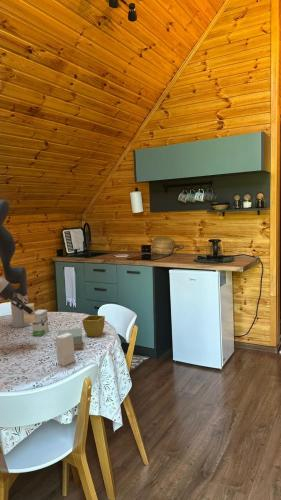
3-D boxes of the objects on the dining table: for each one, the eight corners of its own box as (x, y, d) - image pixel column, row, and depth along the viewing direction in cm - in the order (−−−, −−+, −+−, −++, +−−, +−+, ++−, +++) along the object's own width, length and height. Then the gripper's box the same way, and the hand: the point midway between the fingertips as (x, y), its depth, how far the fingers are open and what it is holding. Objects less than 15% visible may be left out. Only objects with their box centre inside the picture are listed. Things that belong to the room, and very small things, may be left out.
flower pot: (90, 331, 197) (89, 314, 196) (106, 332, 194) (105, 315, 193) (82, 337, 189) (81, 319, 188) (98, 338, 186) (97, 320, 185)
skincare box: (68, 359, 162) (66, 331, 161) (75, 361, 160) (73, 333, 158) (57, 364, 158) (54, 336, 156) (64, 366, 155) (61, 338, 153)
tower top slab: (58, 337, 181) (58, 330, 181) (82, 335, 183) (81, 328, 183) (57, 346, 171) (57, 338, 170) (82, 343, 172) (81, 335, 172)
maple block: (25, 320, 181) (23, 304, 180) (35, 319, 181) (34, 303, 180) (24, 323, 176) (22, 306, 175) (34, 322, 177) (33, 305, 176)
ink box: (41, 336, 194) (40, 313, 192) (33, 336, 195) (31, 313, 193) (49, 330, 202) (47, 309, 201) (40, 330, 203) (38, 308, 202)
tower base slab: (58, 344, 182) (58, 337, 181) (81, 342, 184) (81, 335, 183) (58, 353, 171) (57, 346, 171) (83, 350, 173) (82, 343, 173)
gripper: (6, 285, 168) (36, 309, 172) (10, 279, 182) (38, 301, 186) (-6, 298, 168) (25, 321, 171) (0, 291, 182) (28, 312, 185)
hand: (32, 310), depth 178 cm, fingers closed on maple block, 4 cm apart
